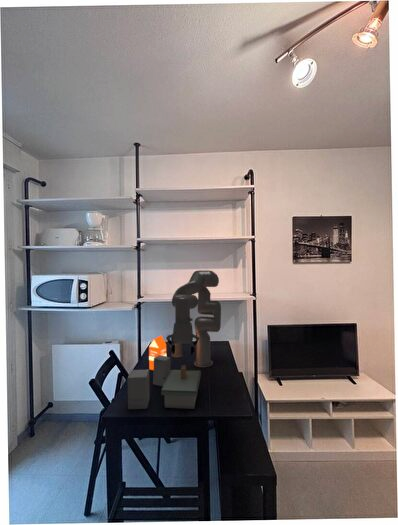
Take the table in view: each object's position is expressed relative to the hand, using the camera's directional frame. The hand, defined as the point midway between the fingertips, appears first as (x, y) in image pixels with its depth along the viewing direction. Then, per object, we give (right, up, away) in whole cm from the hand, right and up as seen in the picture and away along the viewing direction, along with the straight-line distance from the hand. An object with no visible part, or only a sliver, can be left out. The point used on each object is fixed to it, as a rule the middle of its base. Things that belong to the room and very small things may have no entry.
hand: (182, 353), depth 130 cm
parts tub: (0, -21, -3) cm, 21 cm away
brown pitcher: (-10, -21, +57) cm, 62 cm away
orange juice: (-18, -22, +34) cm, 44 cm away
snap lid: (0, -14, -3) cm, 15 cm away
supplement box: (-21, -22, -8) cm, 31 cm away
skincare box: (-13, -22, +12) cm, 27 cm away
